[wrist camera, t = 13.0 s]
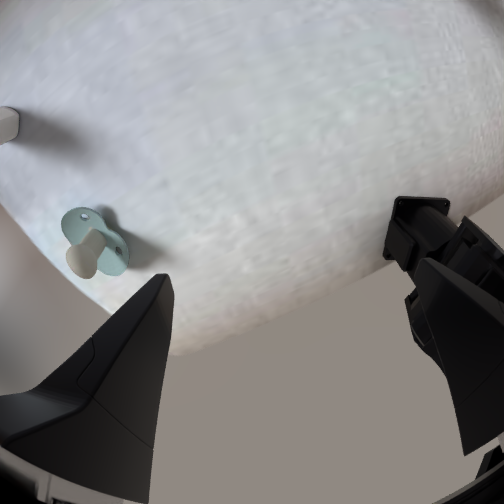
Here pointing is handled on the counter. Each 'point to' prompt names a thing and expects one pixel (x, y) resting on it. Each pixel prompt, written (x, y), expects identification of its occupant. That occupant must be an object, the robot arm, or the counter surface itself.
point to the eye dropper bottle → (8, 124)
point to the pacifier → (93, 244)
